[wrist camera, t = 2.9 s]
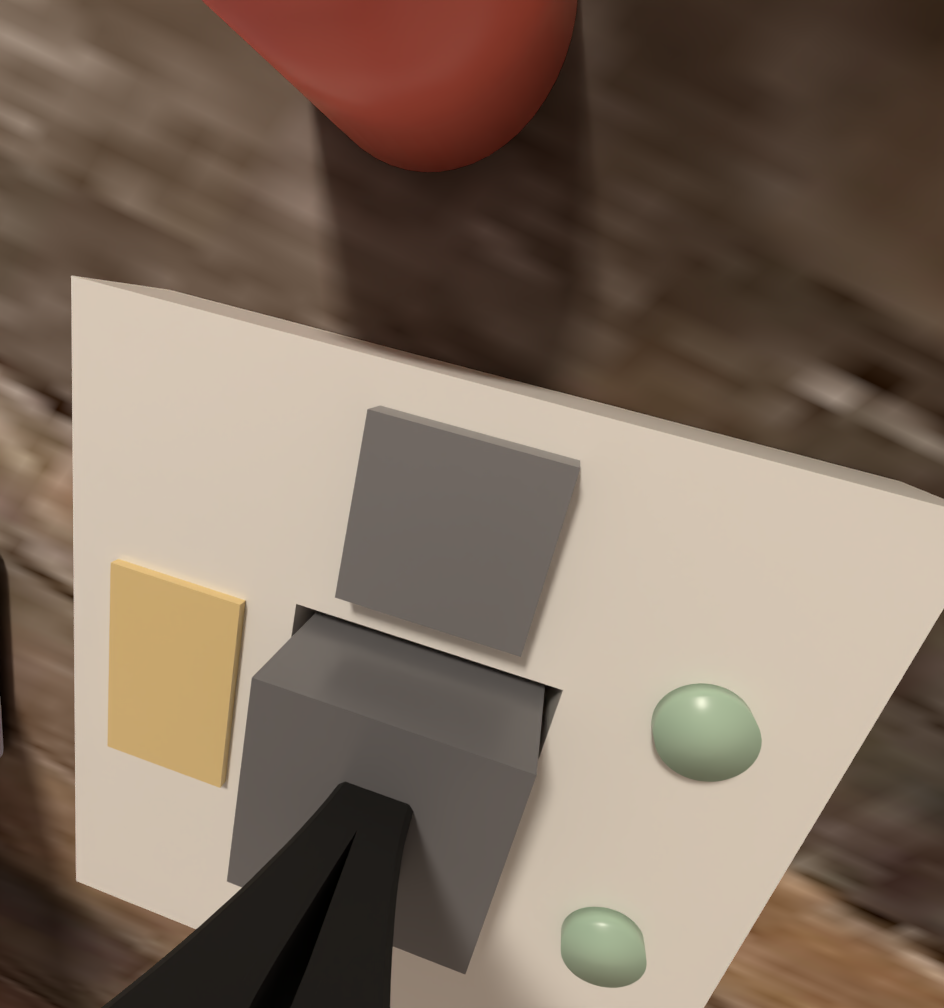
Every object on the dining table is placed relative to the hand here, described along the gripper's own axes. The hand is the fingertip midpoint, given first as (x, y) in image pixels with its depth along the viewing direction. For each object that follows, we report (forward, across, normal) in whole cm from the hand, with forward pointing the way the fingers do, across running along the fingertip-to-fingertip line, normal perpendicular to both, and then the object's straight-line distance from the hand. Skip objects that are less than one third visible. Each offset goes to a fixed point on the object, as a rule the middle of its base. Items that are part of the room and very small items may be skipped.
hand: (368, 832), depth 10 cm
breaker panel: (+4, 0, 0) cm, 4 cm away
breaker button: (+2, 0, 0) cm, 2 cm away
